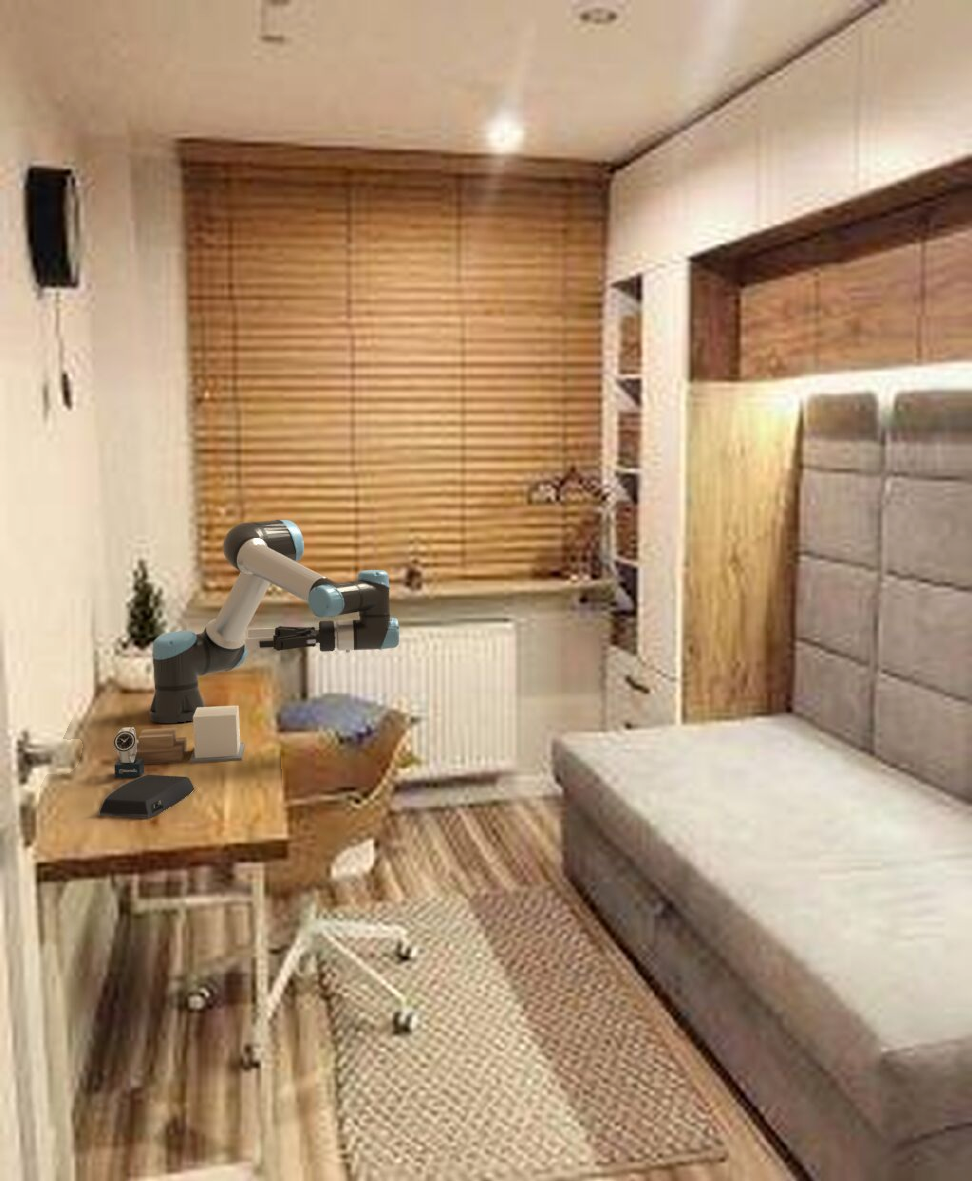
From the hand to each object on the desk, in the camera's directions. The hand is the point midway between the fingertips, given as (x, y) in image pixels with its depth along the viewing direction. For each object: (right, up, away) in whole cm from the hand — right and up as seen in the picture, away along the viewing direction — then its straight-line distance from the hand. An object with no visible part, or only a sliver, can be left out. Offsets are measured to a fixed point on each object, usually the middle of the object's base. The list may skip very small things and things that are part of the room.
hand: (246, 639), depth 269 cm
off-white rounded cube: (-8, -27, +3) cm, 29 cm away
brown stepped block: (-21, -28, +1) cm, 36 cm away
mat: (-8, -28, +3) cm, 29 cm away
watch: (-24, -31, -14) cm, 41 cm away
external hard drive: (-14, -34, -34) cm, 49 cm away
